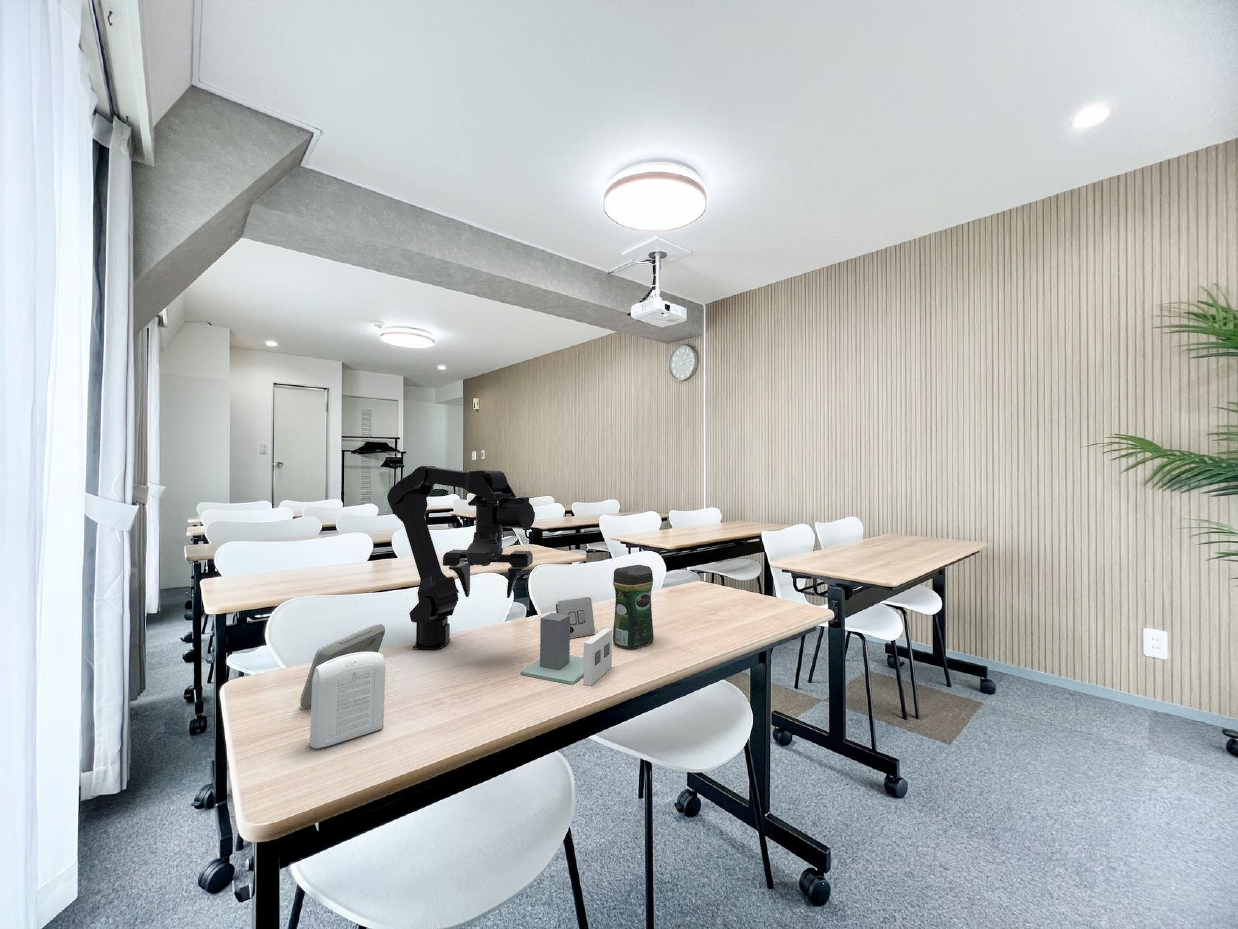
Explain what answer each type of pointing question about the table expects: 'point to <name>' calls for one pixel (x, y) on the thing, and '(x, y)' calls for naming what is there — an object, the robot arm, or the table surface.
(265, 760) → the table surface
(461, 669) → the table surface
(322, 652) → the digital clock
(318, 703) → the photo printer
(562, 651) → the block
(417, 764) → the table surface
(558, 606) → the electrical switch
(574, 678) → the mat
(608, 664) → the outlet plate
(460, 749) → the table surface
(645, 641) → the coffee jar
